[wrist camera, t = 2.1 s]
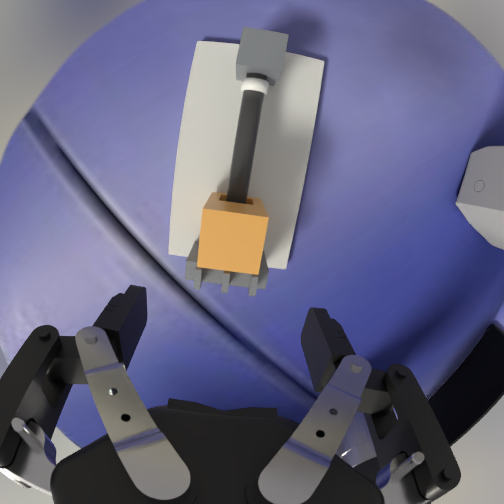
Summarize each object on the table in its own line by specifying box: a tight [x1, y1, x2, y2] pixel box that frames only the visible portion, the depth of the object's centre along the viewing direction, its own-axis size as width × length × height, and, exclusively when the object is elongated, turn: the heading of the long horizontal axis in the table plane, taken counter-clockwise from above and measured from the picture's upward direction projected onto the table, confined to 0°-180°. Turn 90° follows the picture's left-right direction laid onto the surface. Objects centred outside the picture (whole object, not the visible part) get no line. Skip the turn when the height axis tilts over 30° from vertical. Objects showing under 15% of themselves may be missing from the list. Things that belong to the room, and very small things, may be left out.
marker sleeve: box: [197, 192, 269, 275], centre depth 26 cm, size 5×5×8 cm
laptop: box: [428, 324, 504, 446], centre depth 39 cm, size 33×38×19 cm
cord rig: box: [169, 27, 324, 296], centre depth 25 cm, size 25×14×8 cm, turn 171°
